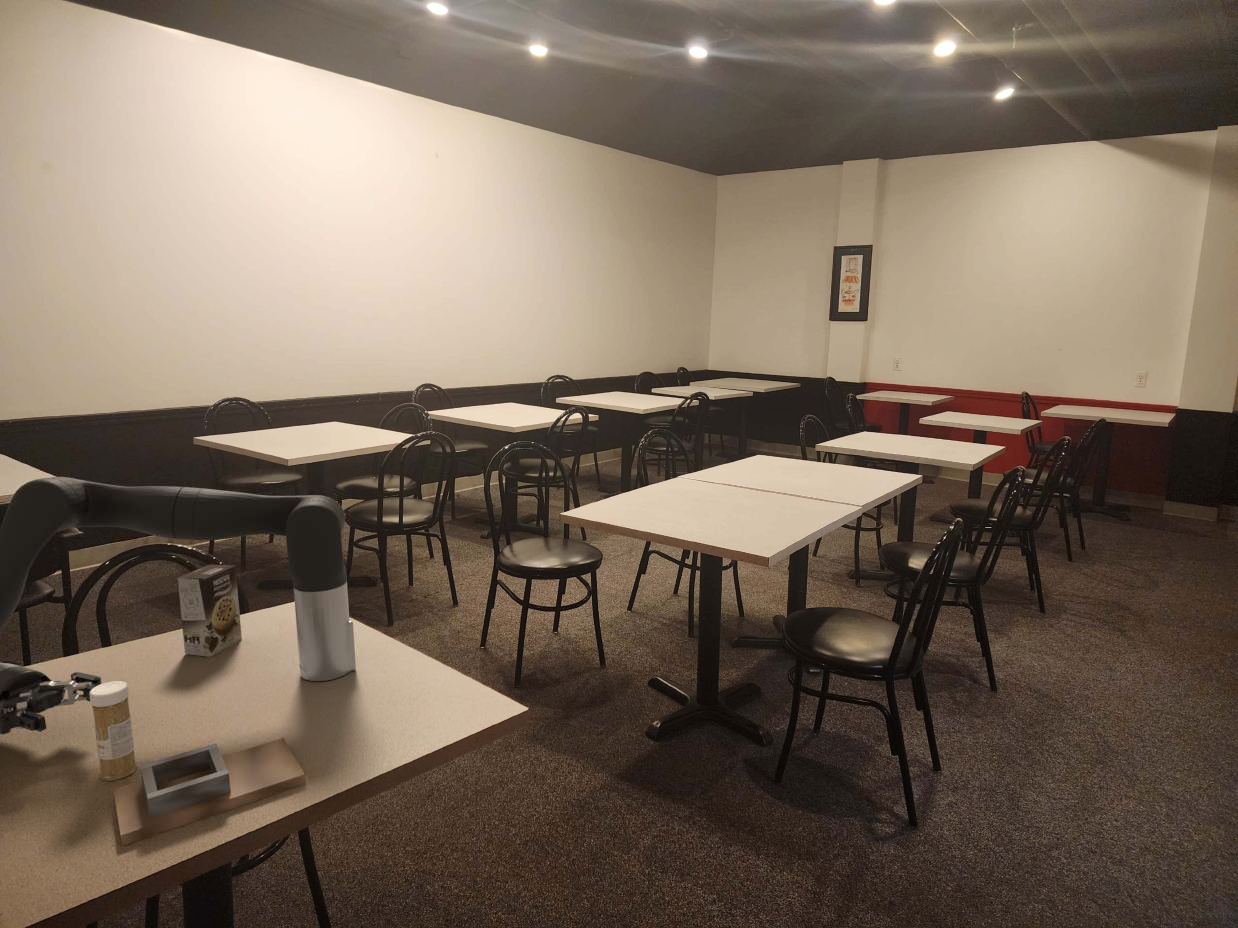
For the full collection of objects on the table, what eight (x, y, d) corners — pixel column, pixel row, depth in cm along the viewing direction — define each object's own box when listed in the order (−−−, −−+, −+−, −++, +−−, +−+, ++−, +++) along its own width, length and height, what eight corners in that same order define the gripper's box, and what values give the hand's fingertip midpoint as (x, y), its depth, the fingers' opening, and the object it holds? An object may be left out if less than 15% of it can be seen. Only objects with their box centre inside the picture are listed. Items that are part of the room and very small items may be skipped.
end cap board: (284, 746, 117) (282, 719, 116) (305, 783, 107) (303, 754, 107) (114, 798, 104) (110, 769, 103) (121, 845, 94) (117, 813, 94)
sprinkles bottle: (96, 773, 110) (84, 687, 107) (131, 760, 113) (121, 676, 111) (106, 785, 107) (94, 697, 104) (142, 771, 110) (132, 686, 108)
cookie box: (212, 657, 148) (204, 579, 145) (183, 654, 150) (175, 576, 147) (243, 639, 157) (236, 564, 154) (216, 636, 158) (209, 562, 156)
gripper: (-50, 687, 111) (17, 708, 105) (53, 650, 124) (119, 667, 118) (-42, 734, 112) (25, 758, 106) (59, 692, 125) (124, 711, 119)
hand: (74, 710), depth 112 cm, fingers open, 8 cm apart
